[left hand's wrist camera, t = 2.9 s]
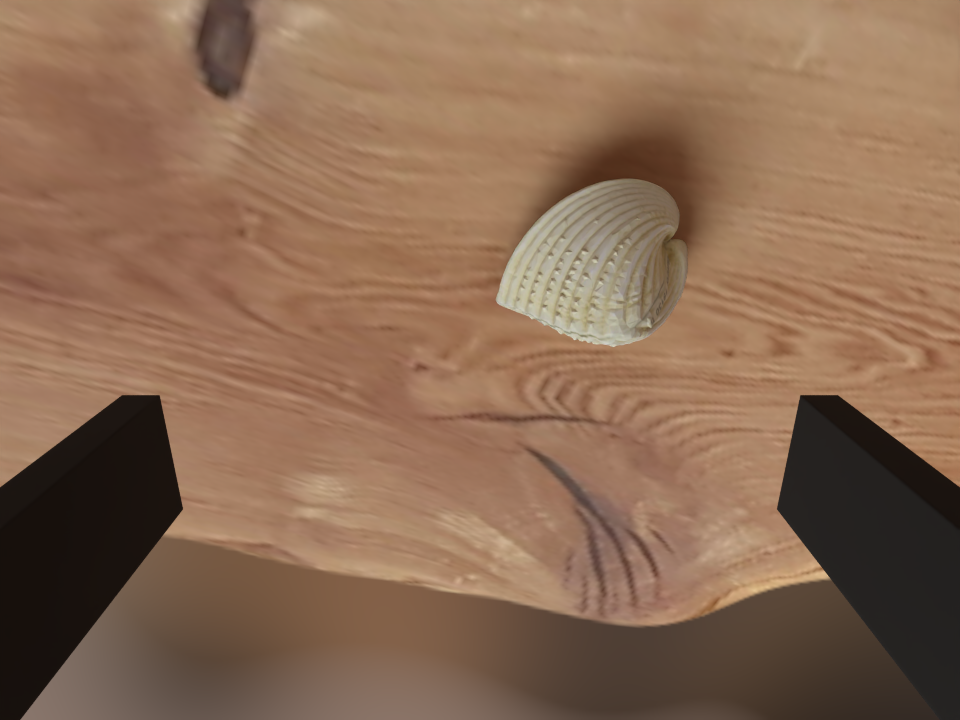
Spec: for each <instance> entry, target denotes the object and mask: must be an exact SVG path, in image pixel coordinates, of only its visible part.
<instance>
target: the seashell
mask: <svg viewBox="0 0 960 720" xmlns="http://www.w3.org/2000/svg"><path fill="white" fill-rule="evenodd" d="M679 218H680V213H679V209H678V206H677V204H676V202H675V200H674V199H673V198H672V196H671V195H670V194H669V193H668V192H667V191H666V190H665V189H663V188H661V187H660V186H658V185H656V184H654V183H651V182H648V181H644V180H639V179H615V180H608V181H603V182H599V183H596V184H593V185H590V186H587V187H585V188H583V189H581V190H579V191H577V192H575V193H573V194H571V195H569V196H567V197H565V198H564V199H562V200H561V201H560V202H558V203H557V204H555V205H554V206H553V207H551V208H550V209H549V210H548V211H547V212H546V213H545V214H544V215H542V216H541V217H540V218H539V219H538V220H537V221H536V222H535V223H534V225H533V226H532V227H531V228H530V229H529V231H528V232H527V233H526V234H525V236H524V237H523V238H522V240H521V241H520V243H519V244H518V246H517V247H516V249H515V250H514V252H513V254H512V257H511V258H510V260H509V262H508V264H507V266H506V269H505V272H504V274H503V277H502V280H501V284H500V289H499V291H498V294H497V298H496V301H497V303H498V304H499V305H501V306H503V307H506V308H508V309H511V310H514V311H516V312H518V313H522V314H524V315H527V316H529V317H530V318H531V319H536V320H538V321H539V322H541V323H542V324H544V325H549V326H550V327H552V328H553V329H555V330H557V331H558V332H559V333H560V334H562V333H565V334H566V335H568V336H571V337H572V338H573V339H574V340H576V339H579V340H580V341H584V340H586V341H587V342H588V343H590V342H592V343H594V344H605V345H610V346H611V347H615V346H618V345H624V344H630V343H632V342H635V341H638V340H642V339H644V338H646V337H648V336H650V335H651V334H652V333H653V332H654V331H656V330H657V329H658V328H659V327H660V326H661V325H662V324H663V323H664V322H665V321H666V319H667V318H668V316H669V315H670V314H671V313H672V311H673V309H674V307H675V306H676V304H677V302H678V300H679V299H680V297H681V295H682V292H683V289H684V286H685V282H686V278H687V272H688V258H687V256H688V248H687V245H686V243H685V242H684V241H682V240H680V239H671V238H672V237H673V236H674V234H675V233H676V231H677V229H678V225H679ZM670 239H671V240H670Z"/></svg>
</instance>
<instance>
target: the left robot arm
mask: <svg viewBox="0 0 960 720" xmlns="http://www.w3.org/2000/svg"><path fill="white" fill-rule="evenodd" d="M182 510H183V507H182V502H181V497H180V492H179V487H178V482H177V478H176V473H175V468H174V463H173V458H172V453H171V448H170V444H169V439H168V434H167V429H166V424H165V419H164V414H163V410H162V405H161V400H160V395H122V396H121V397H119V398H118V399H117V400H115V401H114V402H113V403H111V404H110V405H109V406H107V407H106V408H105V409H103V410H102V411H101V412H99V413H98V414H97V415H95V416H94V417H93V418H91V419H90V420H89V421H87V422H86V423H85V424H83V425H82V426H81V427H80V428H78V429H77V430H76V431H74V432H73V433H72V434H70V435H69V436H68V437H66V438H65V439H64V440H62V441H61V442H60V443H58V444H57V445H56V446H54V447H53V448H52V449H50V450H49V451H48V452H46V453H45V454H44V455H42V456H41V457H40V458H38V459H37V460H36V461H35V462H33V463H32V464H31V465H29V466H28V467H27V468H25V469H24V470H23V471H21V472H20V473H19V474H17V475H16V476H15V477H13V478H12V479H11V480H9V481H8V482H7V483H5V484H4V485H3V486H1V487H0V720H20V719H21V718H22V717H23V716H24V714H25V713H26V712H27V710H28V709H29V708H30V706H31V705H32V704H33V702H34V701H35V700H36V699H37V697H38V696H39V695H40V694H41V692H42V691H43V690H44V688H45V687H46V686H47V684H48V683H49V682H50V681H51V679H52V678H53V677H54V675H55V674H56V673H57V672H58V670H59V669H60V668H61V666H62V665H63V664H64V662H65V661H66V660H67V659H68V657H69V656H70V655H71V653H72V652H73V651H74V650H75V648H76V647H77V646H78V644H79V643H80V642H81V640H82V639H83V638H84V637H85V635H86V634H87V633H88V631H89V630H90V629H91V628H92V626H93V625H94V624H95V622H96V621H97V620H98V618H99V617H100V616H101V615H102V613H103V612H104V611H105V609H106V608H107V607H108V606H109V604H110V603H111V602H112V600H113V599H114V598H115V596H116V595H117V594H118V593H119V591H120V590H121V589H122V587H123V586H124V585H125V584H126V582H127V581H128V580H129V578H130V577H131V576H132V574H133V573H134V572H135V571H136V569H137V568H138V567H139V565H140V564H141V563H142V562H143V560H144V559H145V558H146V556H147V555H148V554H149V552H150V551H151V550H152V549H153V547H154V546H155V545H156V543H157V542H158V541H159V540H160V538H161V537H162V536H163V534H164V533H165V532H166V531H167V529H168V528H169V527H170V525H171V524H172V523H173V521H174V520H175V519H176V518H177V516H178V515H179V514H180V512H181V511H182ZM777 510H778V511H779V512H780V514H781V515H782V516H783V518H784V519H785V520H786V521H787V523H788V524H789V525H790V527H791V528H792V529H793V531H794V532H795V533H796V534H797V536H798V537H799V538H800V540H801V541H802V542H803V543H804V545H805V546H806V547H807V549H808V550H809V551H810V553H811V554H812V555H813V556H814V558H815V559H816V560H817V562H818V563H819V564H820V565H821V567H822V568H823V569H824V571H825V572H826V573H827V575H828V576H829V577H830V578H831V580H832V581H833V582H834V584H835V585H836V586H837V587H838V589H839V590H840V591H841V593H842V594H843V595H844V597H845V598H846V599H847V600H848V602H849V603H850V604H851V606H852V607H853V608H854V609H855V611H856V612H857V613H858V615H859V616H860V617H861V619H862V620H863V621H864V622H865V624H866V625H867V626H868V628H869V629H870V630H871V631H872V633H873V634H874V635H875V637H876V638H877V639H878V641H879V642H880V643H881V644H882V646H883V647H884V648H885V650H886V651H887V652H888V653H889V655H890V656H891V657H892V659H893V660H894V661H895V662H896V664H897V665H898V666H899V668H900V669H901V670H902V671H903V673H904V674H905V675H906V677H907V678H908V679H909V681H910V682H911V683H912V684H913V686H914V687H915V688H916V690H917V691H918V692H919V694H920V695H921V696H922V697H923V699H924V700H925V701H926V703H927V704H928V705H929V706H930V708H931V709H932V710H933V712H934V713H935V714H936V715H937V717H938V718H939V719H940V720H960V487H959V486H957V485H956V484H955V483H953V482H952V481H951V480H949V479H948V478H947V477H945V476H944V475H943V474H941V473H940V472H939V471H937V470H936V469H935V468H933V467H932V466H931V465H929V464H928V463H927V462H925V461H924V460H923V459H922V458H920V457H919V456H918V455H916V454H915V453H914V452H912V451H911V450H910V449H908V448H907V447H906V446H904V445H903V444H902V443H900V442H899V441H898V440H896V439H895V438H894V437H892V436H891V435H890V434H888V433H887V432H886V431H884V430H883V429H882V428H880V427H879V426H878V425H877V424H875V423H874V422H873V421H871V420H870V419H869V418H867V417H866V416H865V415H863V414H862V413H861V412H859V411H858V410H857V409H855V408H854V407H853V406H851V405H850V404H849V403H847V402H846V401H845V400H843V399H842V398H841V397H839V396H838V395H800V400H799V405H798V410H797V414H796V419H795V424H794V429H793V434H792V439H791V444H790V448H789V453H788V458H787V463H786V468H785V473H784V478H783V482H782V487H781V492H780V497H779V502H778V507H777Z"/></svg>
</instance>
